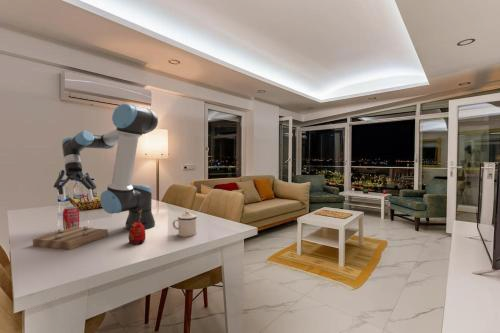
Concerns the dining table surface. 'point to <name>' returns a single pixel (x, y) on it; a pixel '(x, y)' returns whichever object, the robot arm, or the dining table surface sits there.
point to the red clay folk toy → (137, 232)
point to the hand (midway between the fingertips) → (78, 200)
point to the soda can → (70, 217)
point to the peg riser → (70, 237)
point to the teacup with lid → (186, 224)
